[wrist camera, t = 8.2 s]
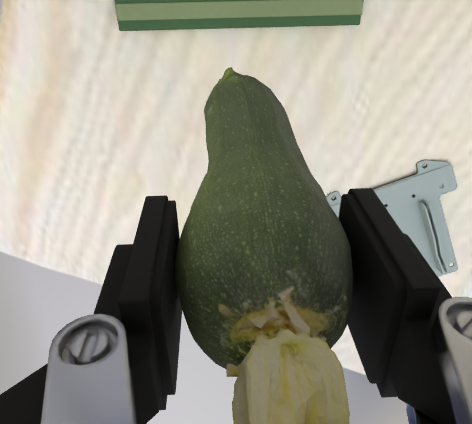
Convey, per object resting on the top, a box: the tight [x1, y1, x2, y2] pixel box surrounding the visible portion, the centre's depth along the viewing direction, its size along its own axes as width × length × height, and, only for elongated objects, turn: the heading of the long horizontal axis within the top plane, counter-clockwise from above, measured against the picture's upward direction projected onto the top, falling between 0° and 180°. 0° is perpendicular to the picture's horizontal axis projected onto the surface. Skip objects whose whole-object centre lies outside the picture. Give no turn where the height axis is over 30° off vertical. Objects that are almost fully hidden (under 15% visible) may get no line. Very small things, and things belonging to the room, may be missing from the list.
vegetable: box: [175, 68, 353, 424], centre depth 13 cm, size 4×4×20 cm
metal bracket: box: [326, 160, 458, 277], centre depth 46 cm, size 14×6×15 cm
